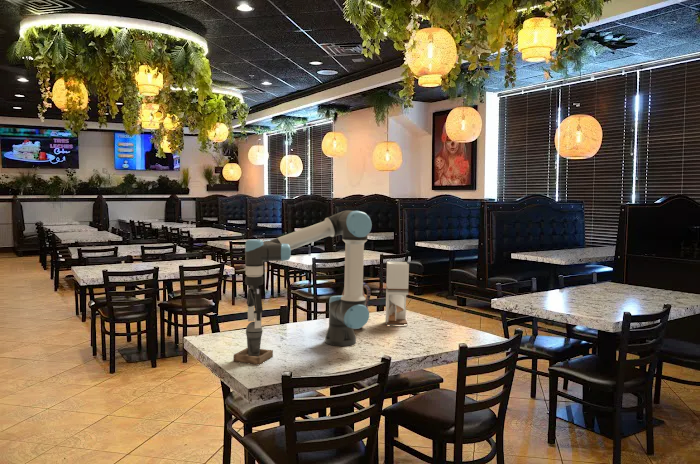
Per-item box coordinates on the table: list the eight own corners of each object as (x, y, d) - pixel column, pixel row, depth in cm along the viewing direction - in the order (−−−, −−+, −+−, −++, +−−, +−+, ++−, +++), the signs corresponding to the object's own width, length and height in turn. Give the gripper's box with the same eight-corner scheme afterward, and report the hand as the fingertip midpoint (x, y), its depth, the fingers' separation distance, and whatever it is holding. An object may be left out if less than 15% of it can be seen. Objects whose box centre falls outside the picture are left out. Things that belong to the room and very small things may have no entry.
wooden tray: (272, 357, 238) (272, 350, 238) (259, 364, 226) (259, 357, 226) (247, 354, 242) (247, 347, 242) (233, 361, 230) (233, 354, 230)
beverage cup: (245, 355, 237) (246, 309, 237) (262, 355, 238) (263, 310, 237) (244, 359, 230) (245, 312, 229) (261, 359, 231) (262, 313, 230)
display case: (386, 326, 302) (388, 263, 300) (385, 322, 312) (386, 261, 310) (407, 326, 302) (408, 264, 300) (405, 322, 312) (406, 262, 310)
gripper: (239, 272, 242) (240, 319, 243) (251, 280, 219) (252, 331, 220) (256, 271, 245) (256, 317, 246) (270, 279, 222) (270, 330, 223)
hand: (254, 324), depth 233 cm, fingers open, 13 cm apart
